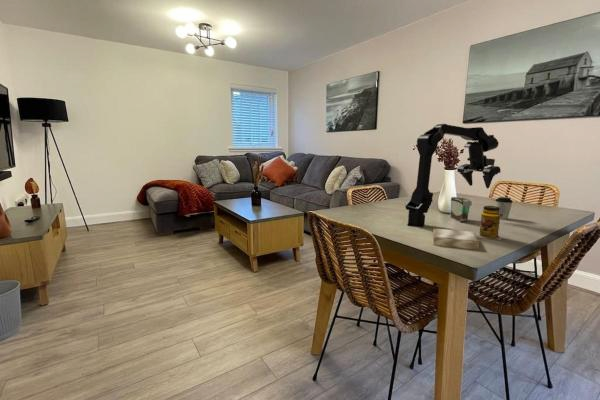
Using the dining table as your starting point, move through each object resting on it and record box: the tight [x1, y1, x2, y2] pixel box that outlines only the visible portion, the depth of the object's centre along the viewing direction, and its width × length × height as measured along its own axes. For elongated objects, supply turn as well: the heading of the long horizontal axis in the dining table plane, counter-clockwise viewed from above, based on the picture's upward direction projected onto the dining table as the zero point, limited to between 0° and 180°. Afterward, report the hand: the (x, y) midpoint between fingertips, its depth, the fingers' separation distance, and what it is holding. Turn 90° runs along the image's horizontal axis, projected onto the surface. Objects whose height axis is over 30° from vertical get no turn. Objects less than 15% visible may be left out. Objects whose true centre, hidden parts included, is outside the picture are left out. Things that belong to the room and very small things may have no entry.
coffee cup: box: [495, 196, 513, 221], centre depth 141 cm, size 7×7×10 cm
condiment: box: [475, 205, 503, 241], centre depth 115 cm, size 7×8×12 cm
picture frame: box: [432, 228, 480, 251], centre depth 109 cm, size 14×12×3 cm
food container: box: [450, 196, 473, 223], centre depth 139 cm, size 12×6×10 cm, turn 179°
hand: (479, 186), depth 139 cm, fingers open, 9 cm apart
